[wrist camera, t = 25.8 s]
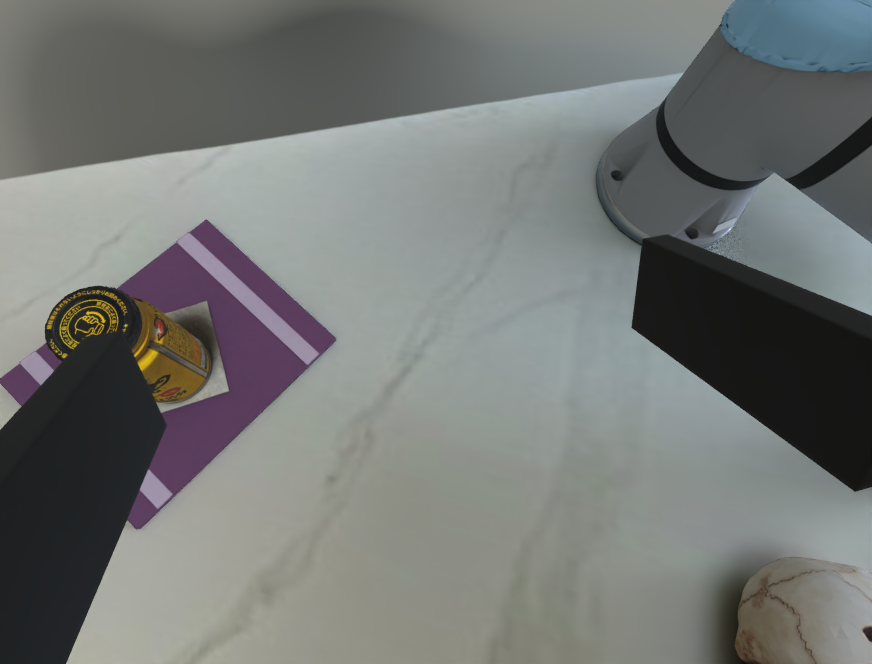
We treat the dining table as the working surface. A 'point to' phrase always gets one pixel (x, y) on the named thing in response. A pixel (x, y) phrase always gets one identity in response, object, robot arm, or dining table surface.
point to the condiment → (146, 341)
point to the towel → (238, 344)
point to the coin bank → (806, 614)
